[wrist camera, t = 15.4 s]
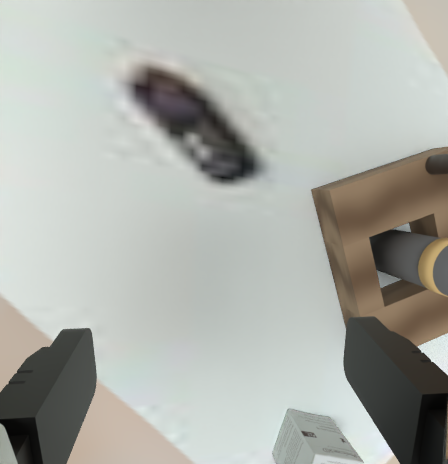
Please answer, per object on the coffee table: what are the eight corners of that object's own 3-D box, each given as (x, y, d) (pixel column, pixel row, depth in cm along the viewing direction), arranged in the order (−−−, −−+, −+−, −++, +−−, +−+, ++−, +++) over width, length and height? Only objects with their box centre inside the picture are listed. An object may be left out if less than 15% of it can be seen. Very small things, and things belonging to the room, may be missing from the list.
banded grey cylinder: (357, 235, 40) (433, 253, 30) (396, 221, 41) (483, 233, 30) (367, 277, 41) (444, 308, 30) (405, 261, 42) (492, 287, 31)
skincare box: (330, 415, 43) (366, 462, 36) (314, 461, 43) (347, 515, 36) (286, 407, 41) (315, 453, 34) (269, 454, 42) (295, 510, 34)
